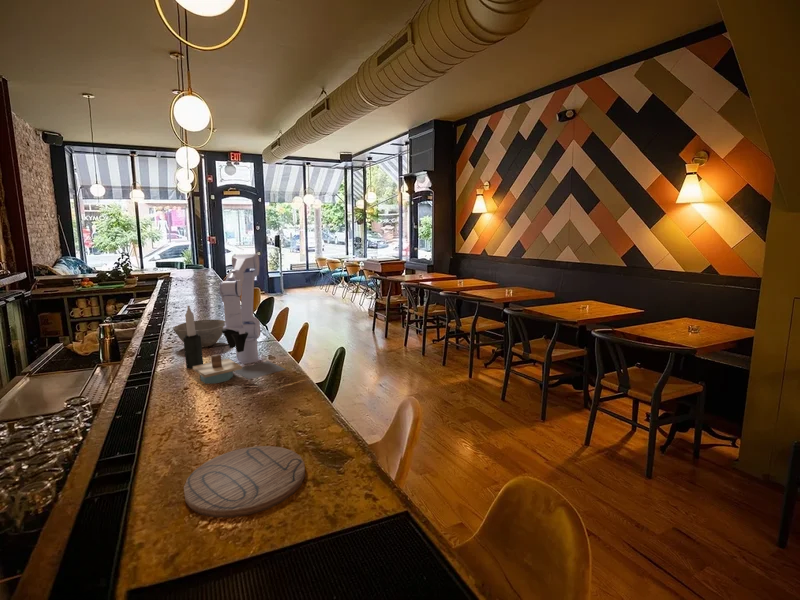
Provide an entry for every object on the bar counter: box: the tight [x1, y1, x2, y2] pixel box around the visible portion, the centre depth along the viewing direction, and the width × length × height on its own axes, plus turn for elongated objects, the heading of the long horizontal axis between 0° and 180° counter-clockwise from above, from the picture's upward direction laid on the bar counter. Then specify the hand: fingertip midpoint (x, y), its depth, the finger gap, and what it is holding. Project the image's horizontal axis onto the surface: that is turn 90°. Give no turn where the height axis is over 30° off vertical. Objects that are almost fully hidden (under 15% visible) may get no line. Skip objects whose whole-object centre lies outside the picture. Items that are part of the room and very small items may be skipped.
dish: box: [199, 371, 234, 384], centre depth 163 cm, size 10×10×4 cm
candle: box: [182, 305, 204, 370], centre depth 175 cm, size 5×5×25 cm
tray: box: [233, 360, 287, 380], centre depth 172 cm, size 15×15×1 cm
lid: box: [192, 353, 243, 378], centre depth 163 cm, size 13×13×5 cm
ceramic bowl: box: [172, 319, 225, 348], centre depth 209 cm, size 22×23×10 cm
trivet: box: [183, 445, 306, 518], centre depth 99 cm, size 25×25×2 cm
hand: (236, 349), depth 167 cm, fingers open, 7 cm apart
